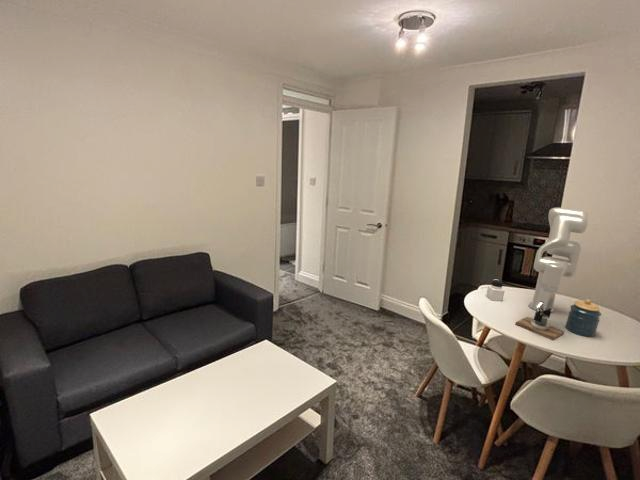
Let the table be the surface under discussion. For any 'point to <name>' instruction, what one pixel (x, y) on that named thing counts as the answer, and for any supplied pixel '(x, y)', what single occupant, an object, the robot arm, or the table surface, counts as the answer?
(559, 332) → the board
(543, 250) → the robot arm
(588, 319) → the canister
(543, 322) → the camera lens
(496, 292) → the medicine bottle
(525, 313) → the table surface
